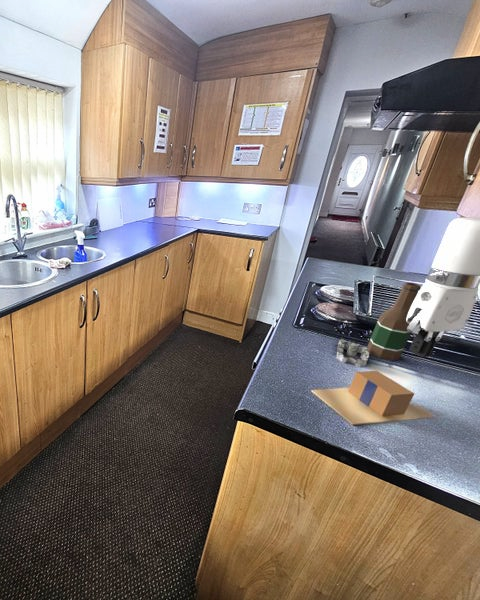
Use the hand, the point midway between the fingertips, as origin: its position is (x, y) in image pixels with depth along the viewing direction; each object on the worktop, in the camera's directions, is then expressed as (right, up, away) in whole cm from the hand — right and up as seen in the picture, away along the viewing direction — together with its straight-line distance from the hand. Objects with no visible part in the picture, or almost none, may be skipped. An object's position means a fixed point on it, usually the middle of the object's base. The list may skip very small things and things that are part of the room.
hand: (418, 353), depth 75 cm
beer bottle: (+14, -5, +25) cm, 29 cm away
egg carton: (+4, -6, +24) cm, 25 cm away
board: (-7, -13, +5) cm, 16 cm away
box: (-3, -10, +4) cm, 11 cm away
